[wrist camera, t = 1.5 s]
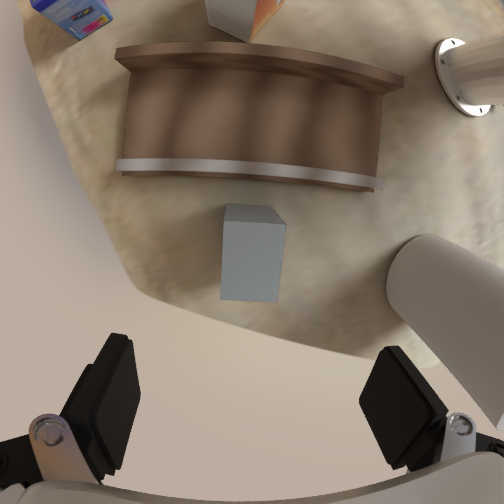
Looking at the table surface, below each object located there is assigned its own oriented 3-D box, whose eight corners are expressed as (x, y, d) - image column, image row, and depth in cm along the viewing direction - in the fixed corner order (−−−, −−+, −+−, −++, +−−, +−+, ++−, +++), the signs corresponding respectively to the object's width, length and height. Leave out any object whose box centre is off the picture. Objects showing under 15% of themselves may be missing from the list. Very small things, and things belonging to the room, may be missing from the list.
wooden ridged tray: (375, 88, 28) (403, 77, 22) (368, 190, 32) (395, 199, 26) (136, 66, 25) (116, 48, 19) (127, 174, 29) (103, 179, 23)
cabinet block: (271, 206, 32) (286, 224, 23) (265, 273, 34) (275, 311, 26) (226, 203, 31) (223, 220, 23) (222, 271, 34) (220, 309, 25)
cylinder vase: (377, 318, 38) (475, 449, 14) (388, 234, 34) (543, 337, 10) (441, 306, 38) (540, 400, 15) (455, 231, 34) (587, 302, 11)
